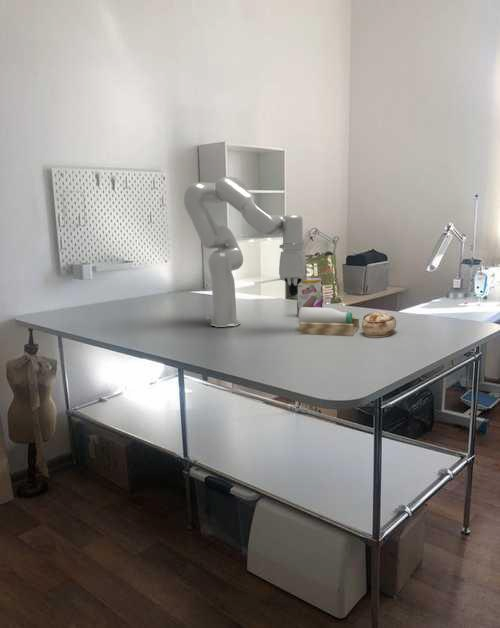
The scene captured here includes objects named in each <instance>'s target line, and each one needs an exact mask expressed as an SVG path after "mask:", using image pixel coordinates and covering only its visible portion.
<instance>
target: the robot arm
mask: <svg viewBox="0 0 500 628" xmlns="http://www.w3.org/2000/svg"><path fill="white" fill-rule="evenodd" d="M223 202H226V203H227V204H229V206H232V207H233V208H234V209H235V210H236V211H238V212H239V213H240V214H241V216H242V218H243V219H244V220H245V222H246V223H247V224H248V225H249V226H250V227H252V228H253V229H255V230H256V231H257V232H258V233H260V234H262V235H265V236H272V235H273V236H276V235H282V244H279V249H282V251H280V255H279V267H278V275H279V280H280V281H283V282H285V283H287V285H288V291H289V292H288V293H289V295H290V296H293V297H295V296H297V293H298V284H299V283H300V282H301V281H304V280H307V279H308V275H307V274H308V267H307V266H308V265H307V258H306V253H305V250H304V248H303V247H304V245H303V244H304V243H303V241H304V240H303V239H304V237H303V230H304V229H303V216H301V215H300V214H290V215H289V214H286V215H282V214H268V213H267V212H265V211H263V210H262V209H261V208H260V207H259V206H258V205H257V204H256V203H255V202H256V197H255V195H254V194H253V193H251V192H250V191H249V190H247V189H246V185H245V183H244V181H243V180H241V178H238V177H232V176H223V177H221V178H219V179H218V180H217V181H216V182H205V181H203V182H202V181H201V182H194V183H191V184H190V185H189V186H188V187H187V189H186V190H185V192H184V195H183V203H184V204H183V205H184V207H185V208H184V209H185V210H186V213H187V215H188V216H189V218H190V220H191V221H192V224H193V227H194V229H195V231H196V233H197V236H198V237H199V240H200V242H201V244H202V245H203V246H204V248H206V249H209V250H210V249H211V250H212V249H217V250H215V251H213V252H212V253H211V254H210V255H209V257H208V260H207V264H208V269H209V274H210V281H211V291H212V293H211V294H212V307H213V308H212V310H213V314H206V315H205V320H206V321H211V322H210V323H211V324H212V325H214V324H215V325H216V326H231V325H236V324H239V323H240V324H241V321H240V320H239V319H237V305H236V303H237V302H236V301H237V300H236V285H235V284H236V283H235V278H234V275H233V271H236V270H239V269H240V268H241V267H242V266H243V263H244V256H243V253H242V250H241V248H240V246H239V244H238V242H237V240H236V237H235V236H234V233H233V232H232V230H231V229H230V228H229V227H228V226H227V225H226V226H225V225H223V224H222V225H221V224H219V225H218V224H217V223H216V221H215V219H214V217H213V215H212V213H211V211H210V210H209V209H208V207H206V205H205V204H218V203H223ZM293 278H294V281H293ZM211 324H210V325H211Z"/></svg>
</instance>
